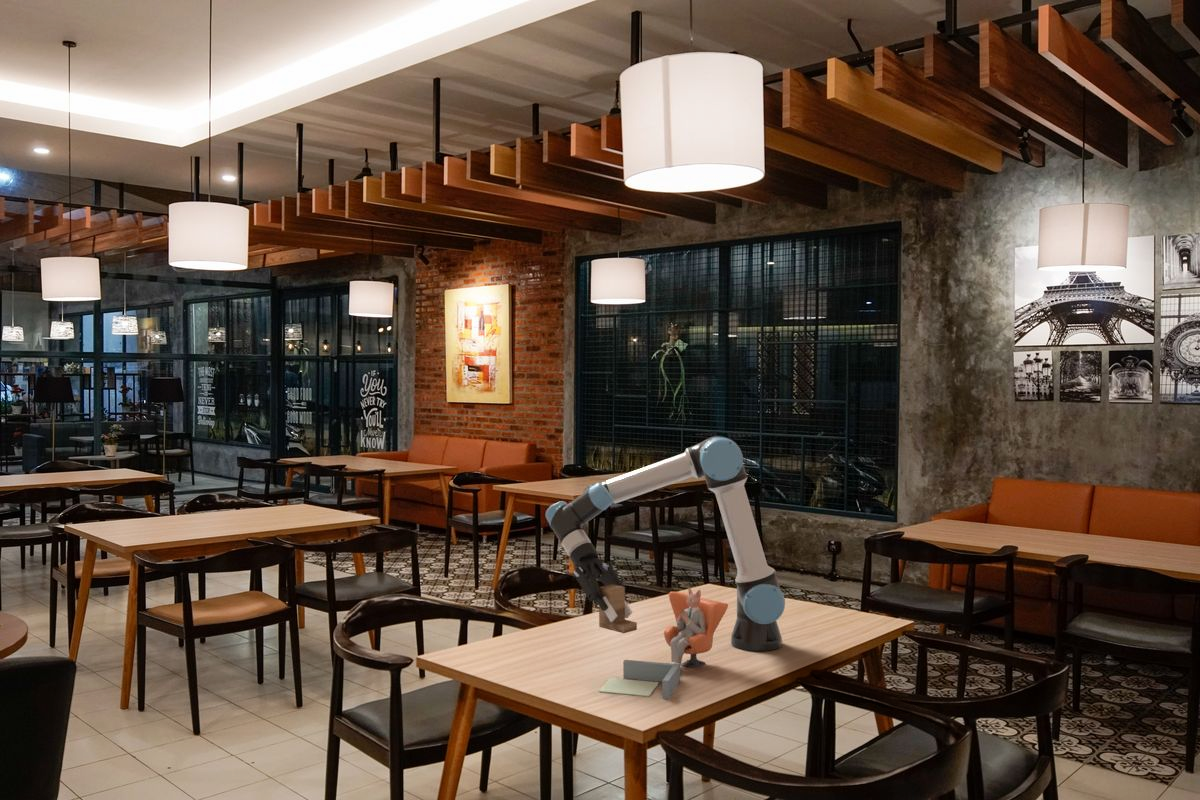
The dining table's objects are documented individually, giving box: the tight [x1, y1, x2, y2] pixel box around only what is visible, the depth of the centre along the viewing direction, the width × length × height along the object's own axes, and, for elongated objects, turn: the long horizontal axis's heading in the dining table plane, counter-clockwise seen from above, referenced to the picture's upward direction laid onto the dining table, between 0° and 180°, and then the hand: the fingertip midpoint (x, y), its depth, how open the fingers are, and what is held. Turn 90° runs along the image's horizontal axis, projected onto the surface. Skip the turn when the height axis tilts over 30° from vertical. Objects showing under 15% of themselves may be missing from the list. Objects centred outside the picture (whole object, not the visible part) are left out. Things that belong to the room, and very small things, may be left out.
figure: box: [663, 587, 729, 670], centre depth 255 cm, size 22×18×21 cm
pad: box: [598, 677, 660, 698], centre depth 237 cm, size 13×11×1 cm
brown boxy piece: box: [598, 584, 638, 634], centre depth 251 cm, size 10×5×11 cm, turn 43°
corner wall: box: [622, 659, 681, 700], centre depth 238 cm, size 15×14×4 cm
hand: (621, 617), depth 250 cm, fingers closed on brown boxy piece, 5 cm apart
